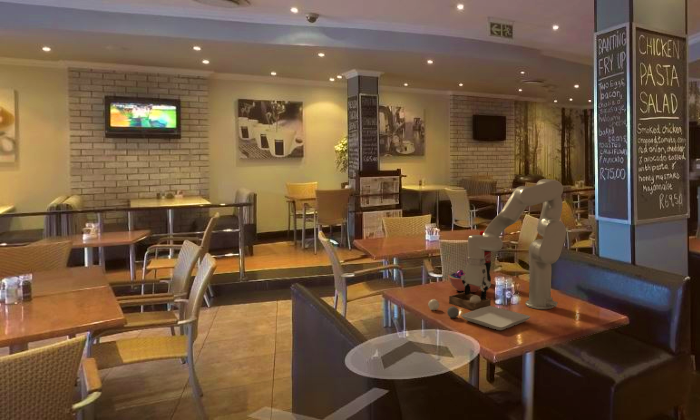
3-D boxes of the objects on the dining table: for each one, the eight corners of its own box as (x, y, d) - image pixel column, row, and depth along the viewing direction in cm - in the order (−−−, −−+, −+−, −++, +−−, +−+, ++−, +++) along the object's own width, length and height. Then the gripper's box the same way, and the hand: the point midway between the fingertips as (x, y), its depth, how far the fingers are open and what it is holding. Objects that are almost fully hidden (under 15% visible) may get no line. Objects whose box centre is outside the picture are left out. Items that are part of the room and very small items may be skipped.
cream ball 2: (482, 305, 231) (483, 295, 230) (475, 307, 228) (475, 297, 227) (474, 303, 235) (474, 293, 234) (467, 305, 232) (467, 294, 231)
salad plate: (459, 321, 212) (459, 314, 211) (489, 311, 225) (490, 304, 224) (501, 335, 195) (501, 327, 195) (531, 323, 208) (531, 316, 208)
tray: (490, 306, 231) (490, 299, 231) (474, 311, 225) (475, 303, 224) (464, 299, 244) (464, 292, 244) (449, 303, 238) (449, 296, 237)
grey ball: (461, 317, 216) (461, 306, 215) (453, 320, 213) (453, 309, 212) (452, 315, 220) (452, 304, 219) (444, 317, 217) (444, 306, 216)
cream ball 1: (441, 310, 227) (441, 299, 226) (433, 312, 224) (433, 301, 224) (433, 307, 231) (433, 297, 230) (425, 309, 228) (426, 299, 228)
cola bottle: (475, 286, 268) (476, 232, 265) (474, 282, 276) (475, 229, 273) (491, 286, 266) (492, 232, 263) (489, 282, 275) (490, 229, 272)
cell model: (478, 298, 245) (478, 276, 244) (441, 292, 257) (442, 271, 256) (490, 290, 259) (491, 269, 257) (455, 285, 271) (455, 265, 269)
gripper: (496, 263, 224) (495, 299, 226) (467, 257, 238) (466, 291, 240) (485, 265, 220) (484, 302, 222) (456, 259, 234) (456, 294, 236)
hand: (475, 296), depth 231 cm, fingers open, 9 cm apart
